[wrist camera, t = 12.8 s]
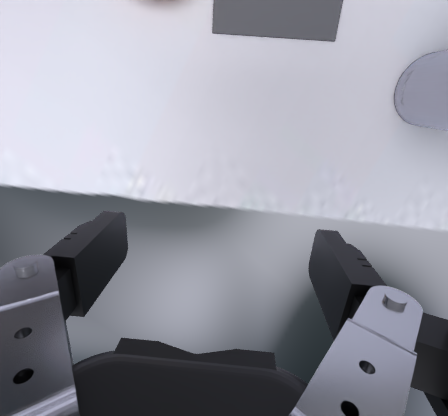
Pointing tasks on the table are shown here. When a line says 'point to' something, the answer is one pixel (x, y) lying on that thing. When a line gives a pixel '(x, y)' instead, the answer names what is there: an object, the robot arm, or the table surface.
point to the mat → (278, 18)
